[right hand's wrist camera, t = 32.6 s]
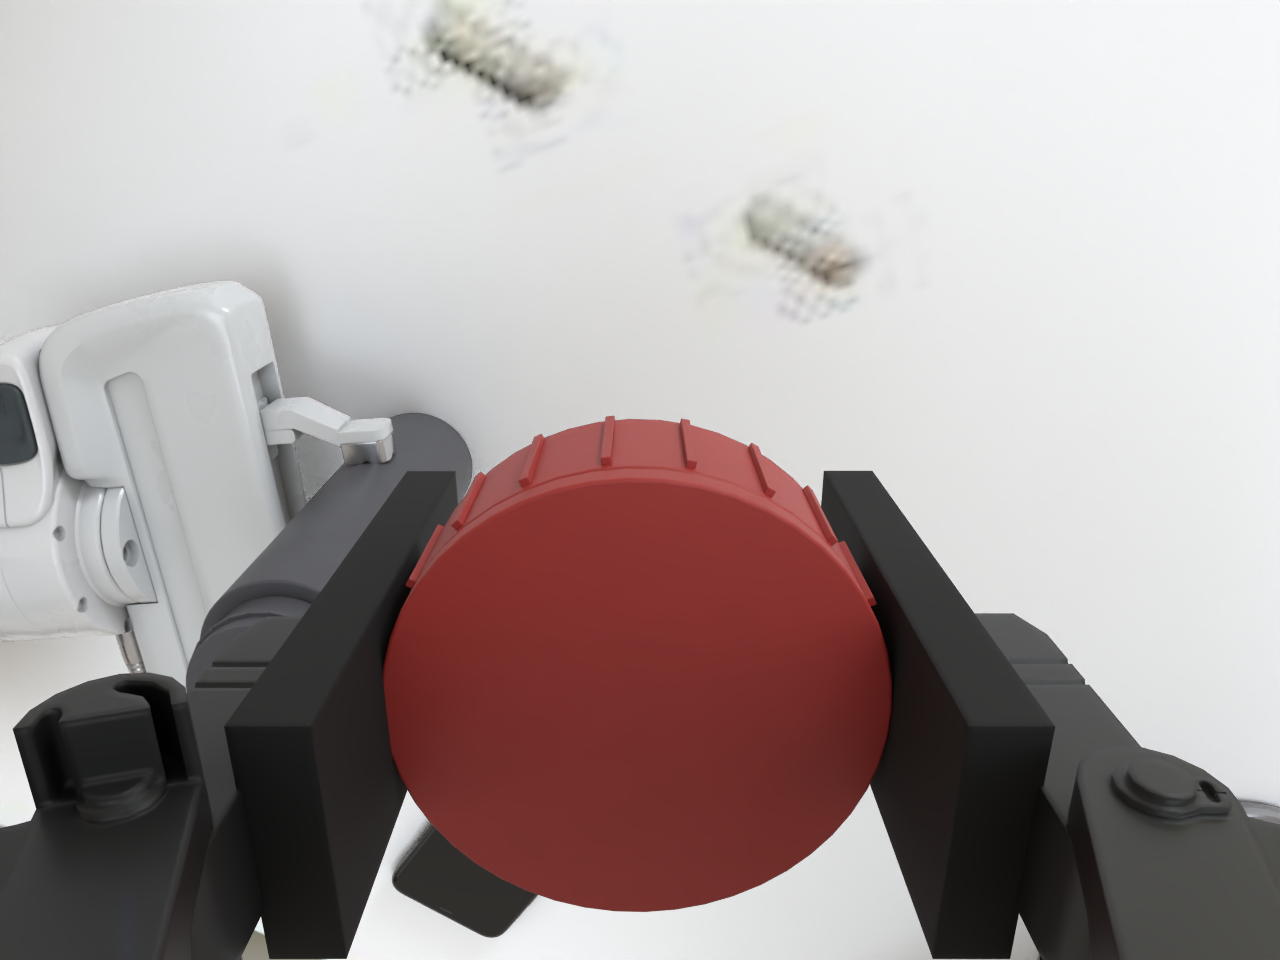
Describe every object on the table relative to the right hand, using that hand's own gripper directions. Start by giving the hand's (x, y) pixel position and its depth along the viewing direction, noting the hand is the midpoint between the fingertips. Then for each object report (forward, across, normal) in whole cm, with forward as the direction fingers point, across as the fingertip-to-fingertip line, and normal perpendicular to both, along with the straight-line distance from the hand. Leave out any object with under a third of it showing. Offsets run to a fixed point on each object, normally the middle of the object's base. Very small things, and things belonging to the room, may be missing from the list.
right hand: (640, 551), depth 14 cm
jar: (+29, +11, +9) cm, 32 cm away
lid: (-4, 0, 0) cm, 4 cm away
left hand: (+22, +10, +9) cm, 26 cm away
